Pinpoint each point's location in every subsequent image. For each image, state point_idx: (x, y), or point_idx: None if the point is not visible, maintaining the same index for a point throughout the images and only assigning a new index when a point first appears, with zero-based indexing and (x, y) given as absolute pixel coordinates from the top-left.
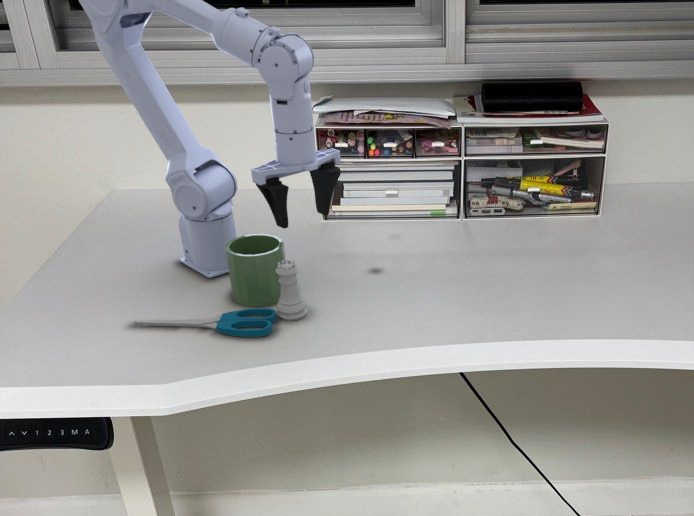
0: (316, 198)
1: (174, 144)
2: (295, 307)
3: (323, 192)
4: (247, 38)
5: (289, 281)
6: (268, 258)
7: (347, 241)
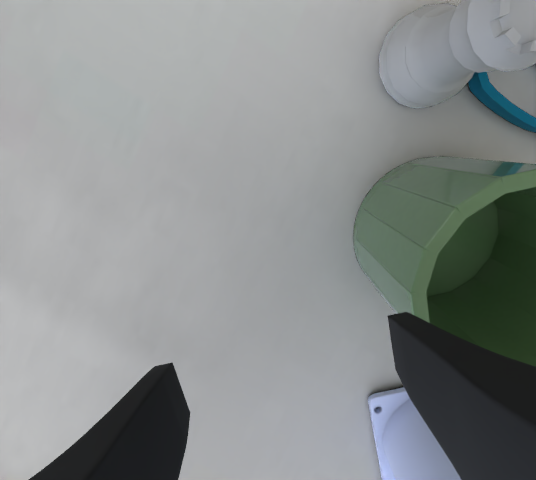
0: (173, 475)
1: None
2: (446, 5)
3: (130, 470)
4: None
5: None
6: (524, 167)
7: (95, 409)
